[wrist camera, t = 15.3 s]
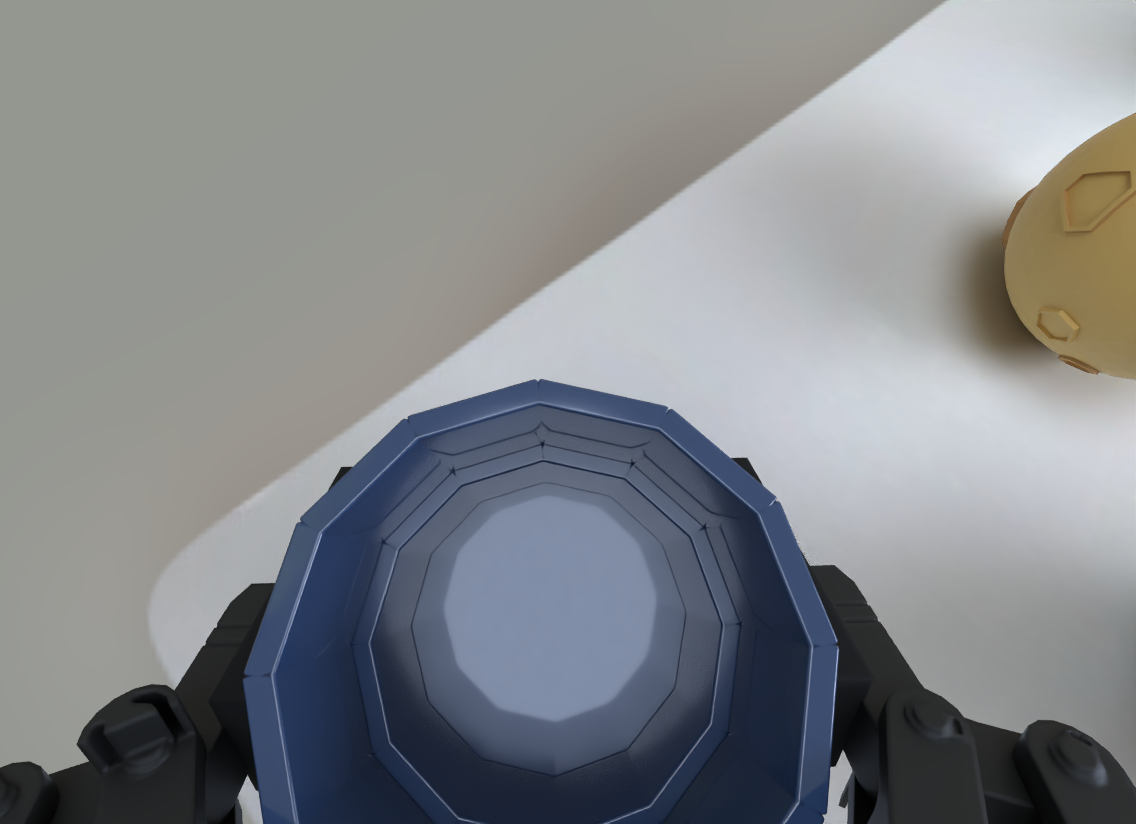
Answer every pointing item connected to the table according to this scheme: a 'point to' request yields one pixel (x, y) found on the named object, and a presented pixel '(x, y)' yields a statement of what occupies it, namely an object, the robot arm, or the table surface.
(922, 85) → the table surface
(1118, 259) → the stress ball
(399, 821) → the top bowl
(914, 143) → the table surface
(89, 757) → the robot arm
